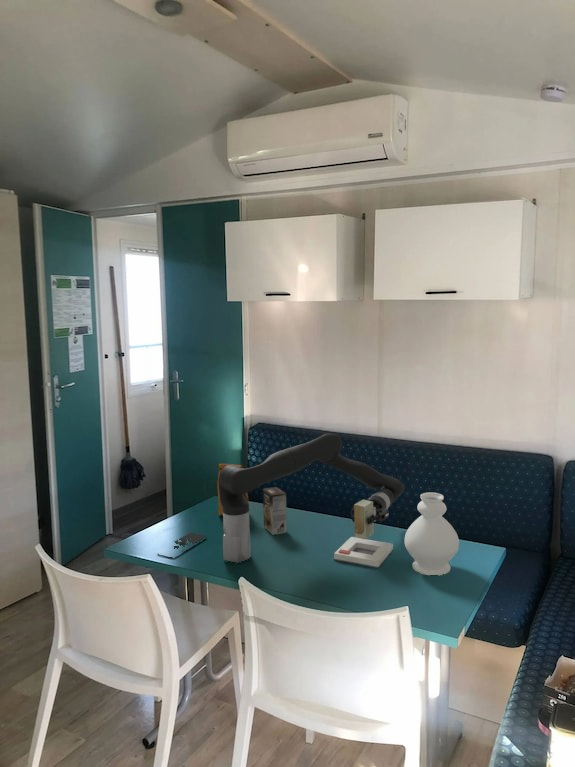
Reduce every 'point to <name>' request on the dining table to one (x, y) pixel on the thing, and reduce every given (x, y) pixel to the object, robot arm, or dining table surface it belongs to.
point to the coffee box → (274, 510)
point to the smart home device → (193, 537)
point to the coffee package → (218, 487)
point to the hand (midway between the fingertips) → (361, 520)
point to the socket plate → (363, 552)
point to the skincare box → (363, 519)
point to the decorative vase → (431, 537)
